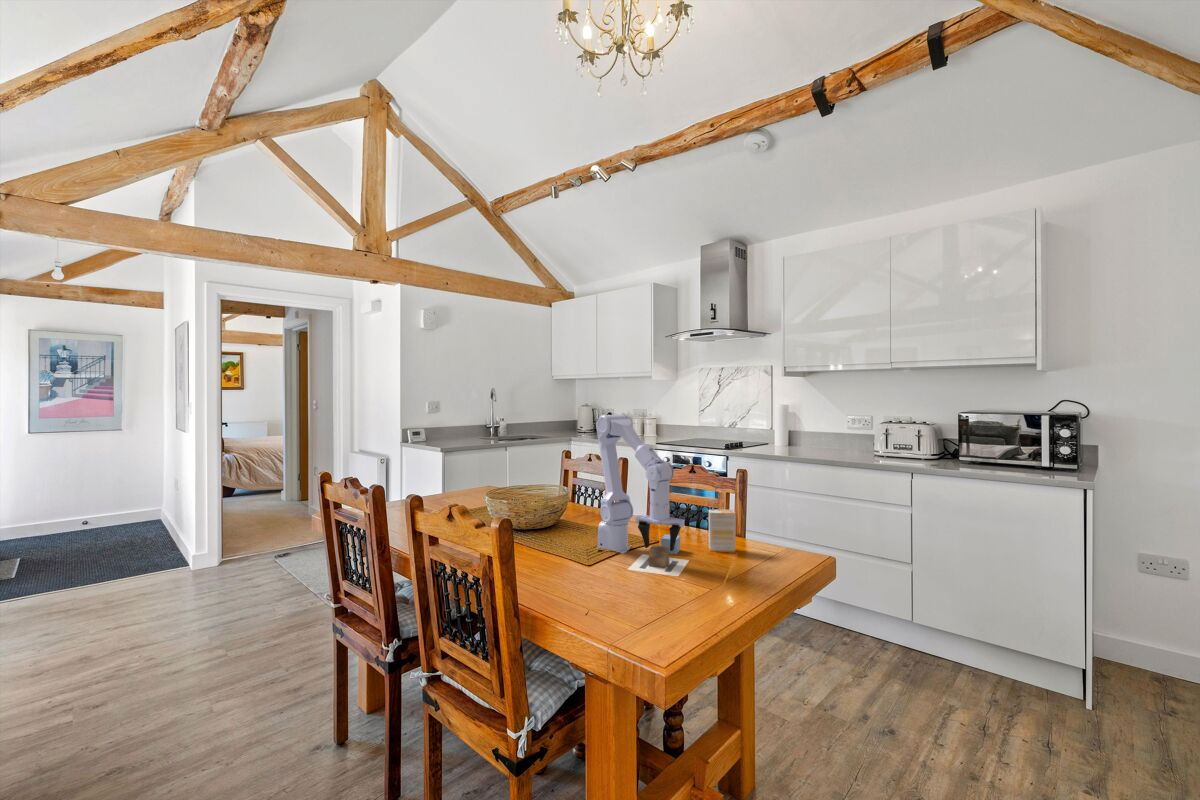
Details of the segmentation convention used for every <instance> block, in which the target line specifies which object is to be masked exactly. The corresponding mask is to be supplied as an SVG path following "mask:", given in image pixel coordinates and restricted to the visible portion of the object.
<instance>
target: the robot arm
mask: <svg viewBox="0 0 1200 800" xmlns="http://www.w3.org/2000/svg"><path fill="white" fill-rule="evenodd" d="M595 427H596V433H597V440H598V446H599V452H600V453H599V454H600V461H601V466H602V473H603V478H604V485H605V492H606V493H605V495H604V496H603V497H602V499H601V500H600V517H601V519H602V520H601V521H600V522H599V524H598V529H597V549H598V548H604V549H609V550H614V551H620V553H619V554H626V553H627V552H628V551H629V550H630V549H631V548H630V547H629V548H628V545H629V543H628V541H629V536H628V535H629V534H628V533H629V523H630V519H631V518H632V517H633V516H634V507H633V505H632V502H631V500H630V495H628V494H627V493H625V492H624V490H623V484H622V478H621V472H620V466H619V458H618V451H617V445H616V444H617V443H618V442H619V440H621V438H622V439H623V440H624V441H625V442H626V443H627V445H629V446H630V448H632V449H633V451H634V452H635V453H634V457H635V458H636V460H637V461H638V463H639V465H641V467H643V469H644V470H645V471H646V472H645V477H646V479H647V482H648V488H649V515H647V514H645V515H641V514H640V515H639V514H637V515H635V523H637V524H638V525H637V528H638V530H639V533H640V534H641V537H642V540H643V543H644V548H645V549H648V548H649V547H650V529H651V528H650V526H651V524H652V525H661V526H670V527H669V529H668V531H669V535H670V551H673V550H674V546H675V541H676V538H677V536H679V533H680V531H681V529H682V528H684V527H685V519H682V518H676V517H671V516H670V481H671V480H673V478H674V474H675V472H674V467H673V465H672V464H671V462H668V461H665V460H664V459H662V458H661V457H660V456H659V455H658V454H657V452H656V451H655V450H654V447H653V446H652V445H650V444H645V443H644V442H643V440H642V439H641V437H640V436H639V435H638V434H637V431H635V429H634V427H633V423H632V420H631V419H630V417H629V416H628V414H624V413H621V414H607V415H606V414H601V415H600V416H599V417H598V418H597V420H596V422H595Z"/></svg>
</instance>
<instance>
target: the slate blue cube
mask: <svg viewBox="0 0 1200 800" xmlns="http://www.w3.org/2000/svg"><path fill="white" fill-rule="evenodd" d="M660 546H668V547H670V534H666V533H665V534H664V535H663V536H662V537H661V539H660ZM680 551H681V535H677V538H676V541H675V546H674V550H673V551H669V555H677V554H679V552H680Z"/></svg>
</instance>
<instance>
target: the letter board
mask: <svg viewBox="0 0 1200 800" xmlns="http://www.w3.org/2000/svg"><path fill="white" fill-rule="evenodd" d="M689 561H690V560H689V559H683V558H675V557H669V564H668V566H667V567H666V568H658V567H651V566H649V554H643V553H642V554H641V555H640V556H639V557H638V558H637V559H636V560H635V561H634V562H633V563H632V564H631V565H630V566H629V567H628V568H627V570H628V571H634V572H635V571H636V572H642V573H650V574H657V575H665V576H671V577H679V576H680V575H681V573H682V572H683V570H684V569H685V567H686V566H687V564H688V563H689Z"/></svg>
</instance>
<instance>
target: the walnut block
mask: <svg viewBox="0 0 1200 800" xmlns="http://www.w3.org/2000/svg"><path fill="white" fill-rule="evenodd" d="M669 551H670V547H668V546H661V545H659V544H658V545H657V544H652V546H651V547H650V548H649V549H648V555H649V566H651V567H658V568H666V567H667V566H668V564H669V558H670V554H669Z"/></svg>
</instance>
